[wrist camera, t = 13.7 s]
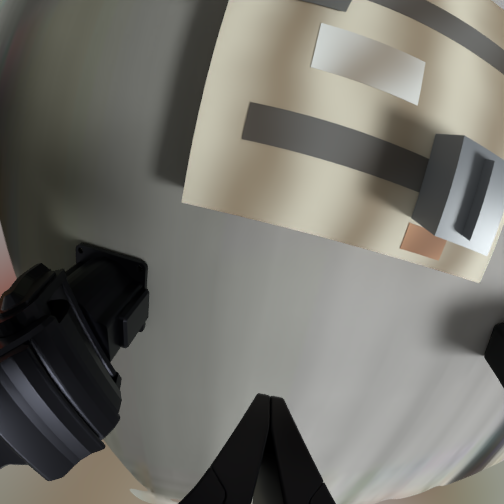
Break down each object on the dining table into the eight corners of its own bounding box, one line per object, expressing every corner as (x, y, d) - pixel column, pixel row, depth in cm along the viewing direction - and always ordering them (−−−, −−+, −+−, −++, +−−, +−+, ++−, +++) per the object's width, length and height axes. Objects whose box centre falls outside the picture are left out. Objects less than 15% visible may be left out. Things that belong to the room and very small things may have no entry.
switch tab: (410, 218, 15) (442, 241, 11) (435, 133, 13) (474, 136, 9) (461, 237, 14) (495, 262, 11) (484, 160, 13) (524, 170, 9)
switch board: (196, 192, 19) (181, 202, 16) (264, -63, 11) (261, -86, 8) (460, 265, 18) (479, 283, 16) (508, 38, 11) (530, 32, 8)
